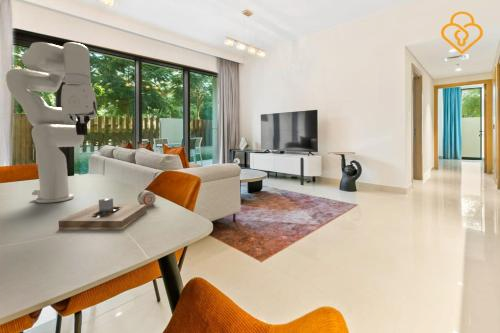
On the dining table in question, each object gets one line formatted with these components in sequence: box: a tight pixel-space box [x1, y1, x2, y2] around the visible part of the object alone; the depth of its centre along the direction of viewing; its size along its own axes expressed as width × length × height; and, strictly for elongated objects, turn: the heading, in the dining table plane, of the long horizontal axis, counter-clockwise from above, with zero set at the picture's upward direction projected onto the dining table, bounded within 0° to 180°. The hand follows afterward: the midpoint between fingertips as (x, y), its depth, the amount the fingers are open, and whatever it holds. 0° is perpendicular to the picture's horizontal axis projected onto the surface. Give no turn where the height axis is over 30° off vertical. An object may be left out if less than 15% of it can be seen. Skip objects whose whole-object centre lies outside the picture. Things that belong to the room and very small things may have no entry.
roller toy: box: [137, 190, 156, 208], centre depth 99 cm, size 4×6×6 cm
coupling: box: [98, 197, 117, 217], centre depth 82 cm, size 9×4×6 cm, turn 0°
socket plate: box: [57, 204, 148, 230], centre depth 82 cm, size 18×18×2 cm
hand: (82, 134), depth 91 cm, fingers closed
